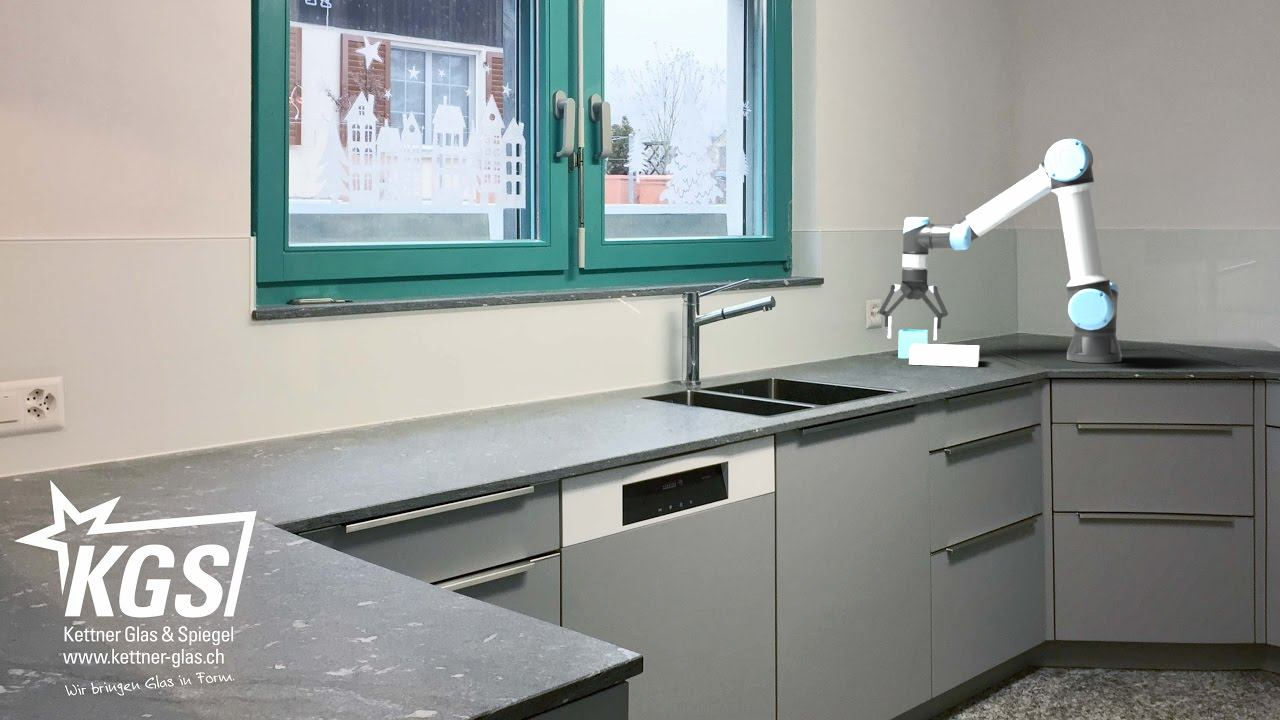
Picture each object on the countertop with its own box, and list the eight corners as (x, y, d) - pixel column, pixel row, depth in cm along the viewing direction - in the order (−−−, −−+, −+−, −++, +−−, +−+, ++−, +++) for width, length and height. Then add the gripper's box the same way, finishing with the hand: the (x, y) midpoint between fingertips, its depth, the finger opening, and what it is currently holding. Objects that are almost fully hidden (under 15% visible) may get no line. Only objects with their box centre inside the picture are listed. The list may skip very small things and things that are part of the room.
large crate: (978, 360, 356) (979, 345, 355) (977, 366, 343) (977, 350, 342) (912, 358, 361) (913, 343, 361) (909, 364, 348) (909, 348, 348)
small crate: (927, 355, 370) (927, 329, 369) (925, 358, 362) (926, 332, 361) (900, 354, 372) (901, 329, 371) (898, 357, 365) (898, 331, 364)
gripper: (958, 269, 364) (955, 339, 367) (874, 267, 371) (872, 335, 374) (957, 270, 357) (954, 341, 360) (871, 268, 364) (869, 338, 367)
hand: (912, 338), depth 367 cm, fingers open, 13 cm apart
